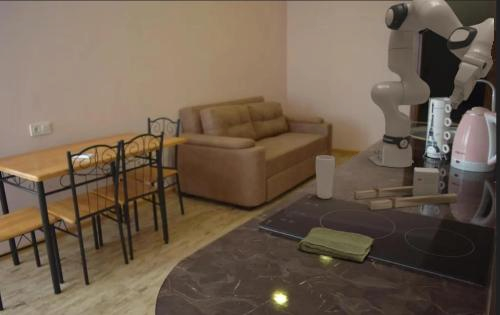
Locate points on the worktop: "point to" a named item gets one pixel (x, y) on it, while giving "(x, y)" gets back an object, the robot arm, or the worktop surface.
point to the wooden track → (401, 201)
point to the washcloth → (336, 244)
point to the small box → (425, 181)
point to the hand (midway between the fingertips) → (452, 104)
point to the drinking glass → (325, 175)
